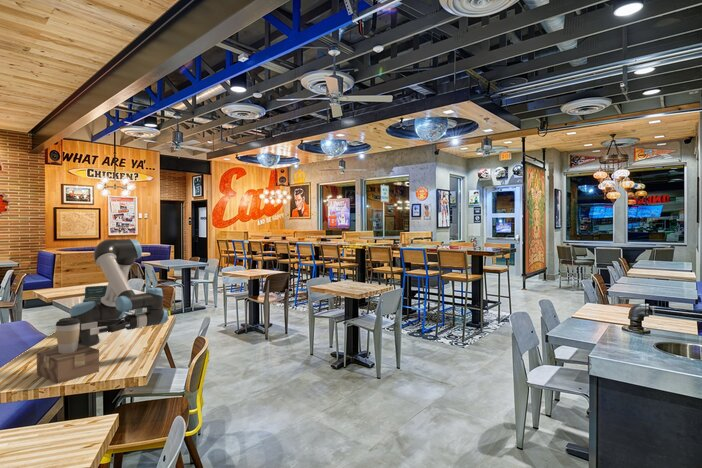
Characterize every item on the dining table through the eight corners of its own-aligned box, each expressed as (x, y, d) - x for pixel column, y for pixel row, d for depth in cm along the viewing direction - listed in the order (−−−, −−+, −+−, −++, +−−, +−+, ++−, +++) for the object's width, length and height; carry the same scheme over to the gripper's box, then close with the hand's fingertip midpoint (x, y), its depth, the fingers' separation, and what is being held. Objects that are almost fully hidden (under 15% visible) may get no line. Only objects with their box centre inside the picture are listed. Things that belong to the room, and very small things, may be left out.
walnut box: (35, 375, 169) (35, 352, 169) (77, 363, 183) (77, 343, 183) (57, 384, 159) (57, 360, 158) (99, 371, 173) (99, 349, 173)
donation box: (113, 326, 257) (113, 285, 257) (113, 331, 243) (112, 288, 243) (85, 329, 249) (84, 286, 249) (82, 334, 235) (82, 289, 235)
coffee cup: (60, 355, 165) (60, 321, 165) (51, 352, 169) (51, 318, 169) (84, 350, 172) (84, 317, 172) (75, 346, 177) (75, 315, 177)
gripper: (145, 332, 184) (94, 342, 168) (125, 324, 200) (77, 332, 184) (145, 317, 184) (94, 325, 168) (125, 310, 200) (77, 317, 184)
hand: (85, 329), depth 176 cm, fingers open, 13 cm apart
